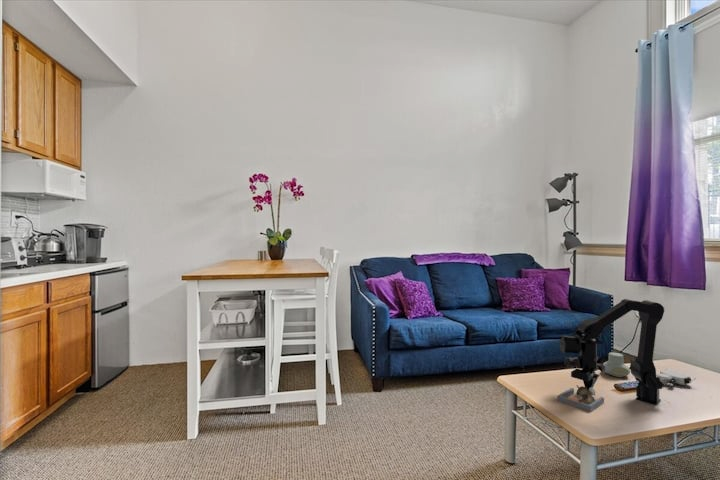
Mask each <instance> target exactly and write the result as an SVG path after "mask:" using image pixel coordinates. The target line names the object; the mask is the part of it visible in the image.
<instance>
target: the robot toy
mask: <svg viewBox="0 0 720 480" xmlns="http://www.w3.org/2000/svg"><path fill="white" fill-rule="evenodd" d="M656 377H657V378H658V379H659V380H660V381H661V382H662V383H663V384H664V385H663V386H670V387H673V386H674V385H675V384H677V385H679V386H685V385H688V384H691V383H692V382H693V381H694V380H695V381H696V380H697V377H694V378H693V379H692V378H691V376H690V375H688V374H687V373H683V372H681V371H677V370H673V369H668V368H665V369H663V370H660V371H659V373H656Z"/></svg>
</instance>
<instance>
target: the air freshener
mask: <svg viewBox="0 0 720 480" xmlns="http://www.w3.org/2000/svg"><path fill="white" fill-rule="evenodd" d="M624 359H625V358H624V355H623V354H622V353H619V352H612V351H611V352H609V353H608V360H607V361H605V362H603V363H602V364H603V365H604V366H605V372H604V373H606V374H607V375H610V376H612V377H615V378H623V377H627V376H629V375H630V374H631V370H630V369H629V368H630V366H628V365H627V364H625V363H624V361H625V360H624Z"/></svg>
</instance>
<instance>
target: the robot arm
mask: <svg viewBox="0 0 720 480" xmlns="http://www.w3.org/2000/svg"><path fill="white" fill-rule="evenodd" d="M631 311H634V312H635V311H636V312H638V316H639V319H640V321H641V325H640V334H639V343H638V350H637V357H636V358H635V359H630V360H629V361H630V362H629V363H630V364H629V369H630V374H631V375H632V377H634V379H635V381H637V385H636V387H635V389H636V392H635V395H636V400H638V401H642V402H646V403H648V404H652V405H657V404H659V403H660V402H661V398H660V390H663V388H664V386H665V385H664V384H663V383H662V382H661V381H660V380H659V379H658V378H657V377H656V375H657V369H656V366H655V362H654V352H655V345H656V344H655V343H656V335H657V328H658V327H657V326H658V325H659V323H660V322H661V321H662V319H663V317H664V314H665V307H664V306H663V305H662V304H661V303H659V302H656V301H651V300H648V299H645V300H642V301H639V300H631V299H628V298H624V299H621V300H620V301H619V302H618V303H617V304H615V305H614V306H612V307H610V308H609V309H607V310H606V311H604V312H603V313H601V314H599V315H598V316H596V317H593V318H589V319H586V320H584V321H582V322H580V323H579V324H578V327H577V329H575V331H574V333H572V335H571V336H568V335H561V338H560V341H559V343H558V344H559V346H558V347H559V350H560V352H561V353H563V354H579V353H580V354H579V355H578V356H575V357H565V359H564V362H563V364H564V365H565V366H566V368H572V367H573V368H574V367H576V368H575V369H573V370H572V371H570V377H571V378H573V379H576V380H581V381H582V382H583V385H584V387H587V389H589V388H590V387H591V388H593V389H594V386H595V384H596V382H597V381H598V379H599V377H600V374H597V373H596V371H600V373H601V374H602V373H603V374H604V373H606V372H605V366H604V365H603V363H598V362H597V361H598V360H599V359H600V358H599V356H598V352H597V350H598V345H603V344H604V343H603V341H601V340H600V338H599V336H600V335H601V334H602V333H603V332H604V331H605V329H607V327H608V326H610V325H611V324H612V323H614V322H616V321H617V320H619V319H620V318H623V317H624V316H625V315H627V314H628V313H630V312H631ZM588 391H589V390H588Z"/></svg>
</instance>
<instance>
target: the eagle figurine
mask: <svg viewBox="0 0 720 480" xmlns="http://www.w3.org/2000/svg"><path fill="white" fill-rule="evenodd" d="M576 387H577V390H576V392H575V394H576V396H577V397H578V399H579V401H582V400H583V401H582V403H585V404H588V405H590V404H591V403H593V402H594V401H595V400H596V399H595V398H594V396H596V393H597V392H596V390H595V389H594V387H593V388H591V387H590V388H589V389H587V387H585V386H583V385H582V386H579V385H577V384H576ZM588 390H589V391H588Z"/></svg>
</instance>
